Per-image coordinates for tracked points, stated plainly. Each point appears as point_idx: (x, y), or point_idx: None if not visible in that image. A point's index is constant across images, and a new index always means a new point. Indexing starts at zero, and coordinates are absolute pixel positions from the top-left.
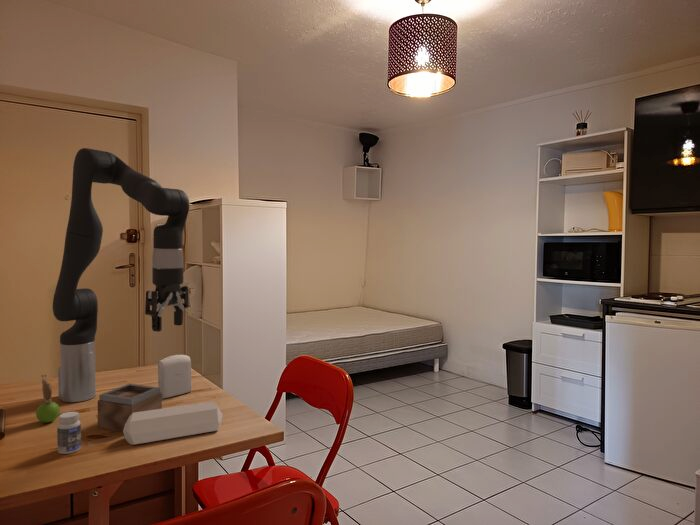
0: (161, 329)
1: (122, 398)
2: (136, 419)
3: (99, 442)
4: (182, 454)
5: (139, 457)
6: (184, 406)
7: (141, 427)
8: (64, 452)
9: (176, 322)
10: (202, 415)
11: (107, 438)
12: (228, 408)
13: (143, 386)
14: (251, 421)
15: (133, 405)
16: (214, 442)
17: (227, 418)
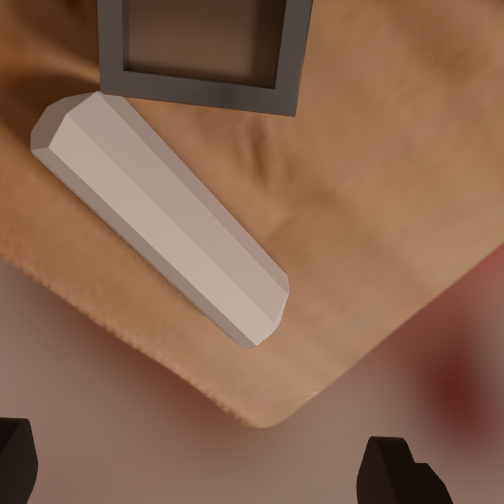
0: (29, 491)
1: (98, 31)
2: (49, 165)
3: (24, 15)
4: (72, 302)
5: (7, 214)
6: (185, 280)
7: (61, 180)
8: None
9: (371, 479)
10: (204, 313)
11: (62, 20)
12: (406, 269)
13: (293, 12)
14: (313, 362)
15: (113, 95)
16: (161, 337)
17: (323, 300)
